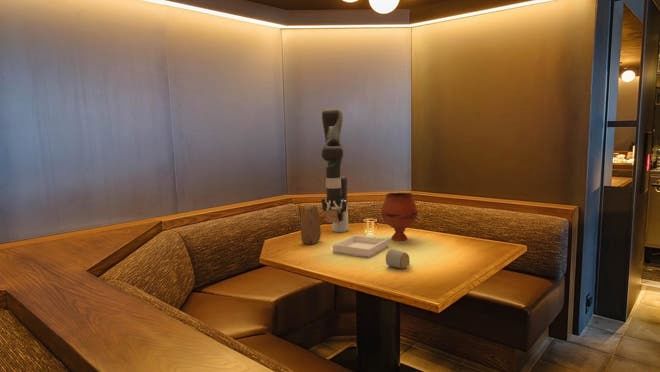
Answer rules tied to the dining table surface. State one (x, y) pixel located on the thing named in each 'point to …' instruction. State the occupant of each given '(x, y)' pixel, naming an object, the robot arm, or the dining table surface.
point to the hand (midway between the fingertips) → (334, 219)
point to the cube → (332, 216)
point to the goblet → (399, 213)
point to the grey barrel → (397, 259)
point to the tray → (360, 246)
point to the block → (310, 225)
